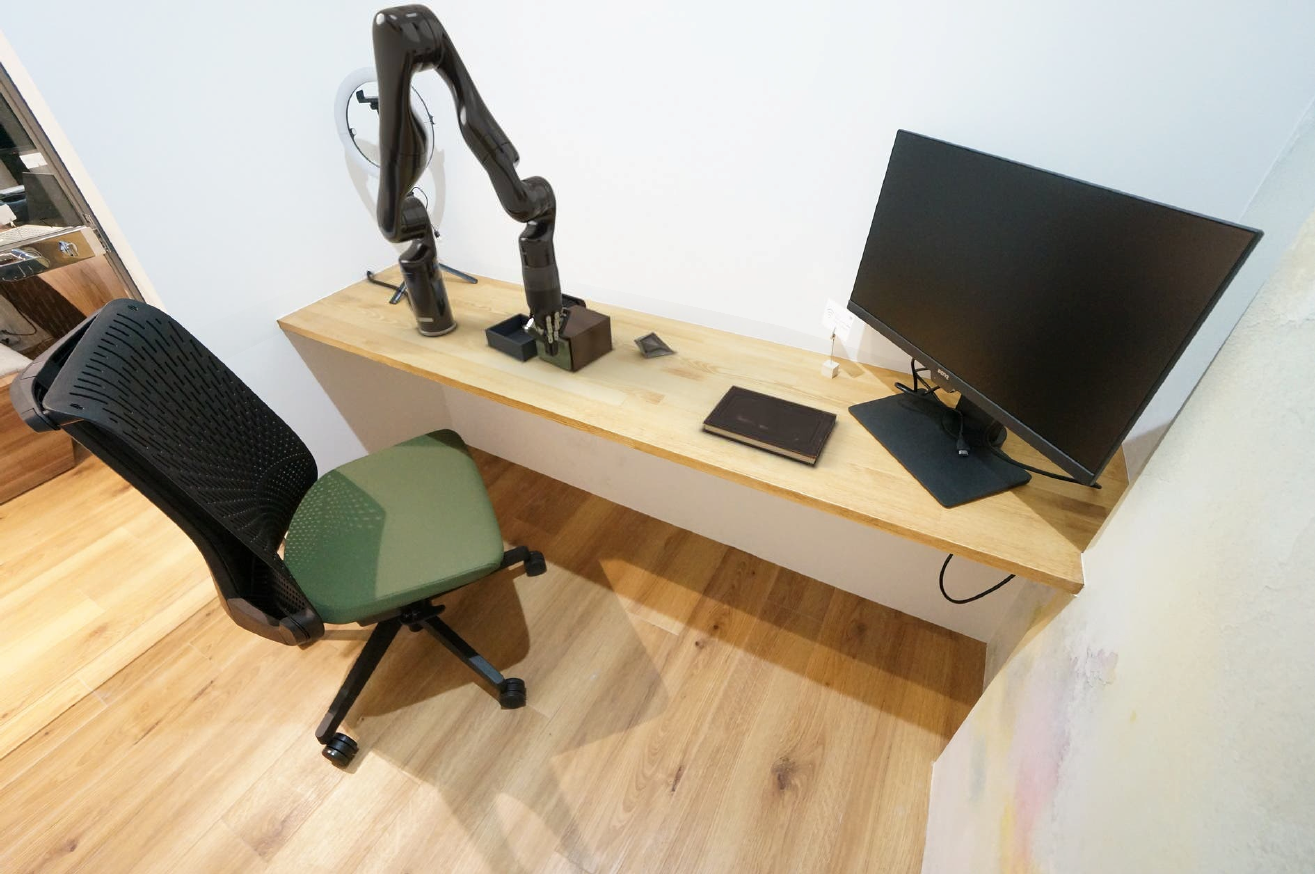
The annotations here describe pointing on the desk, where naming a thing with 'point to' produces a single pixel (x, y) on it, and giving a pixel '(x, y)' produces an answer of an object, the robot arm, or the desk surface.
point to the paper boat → (652, 345)
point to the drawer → (561, 358)
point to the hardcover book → (771, 424)
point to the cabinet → (587, 336)
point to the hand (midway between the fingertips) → (552, 354)
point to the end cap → (571, 301)
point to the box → (512, 338)
